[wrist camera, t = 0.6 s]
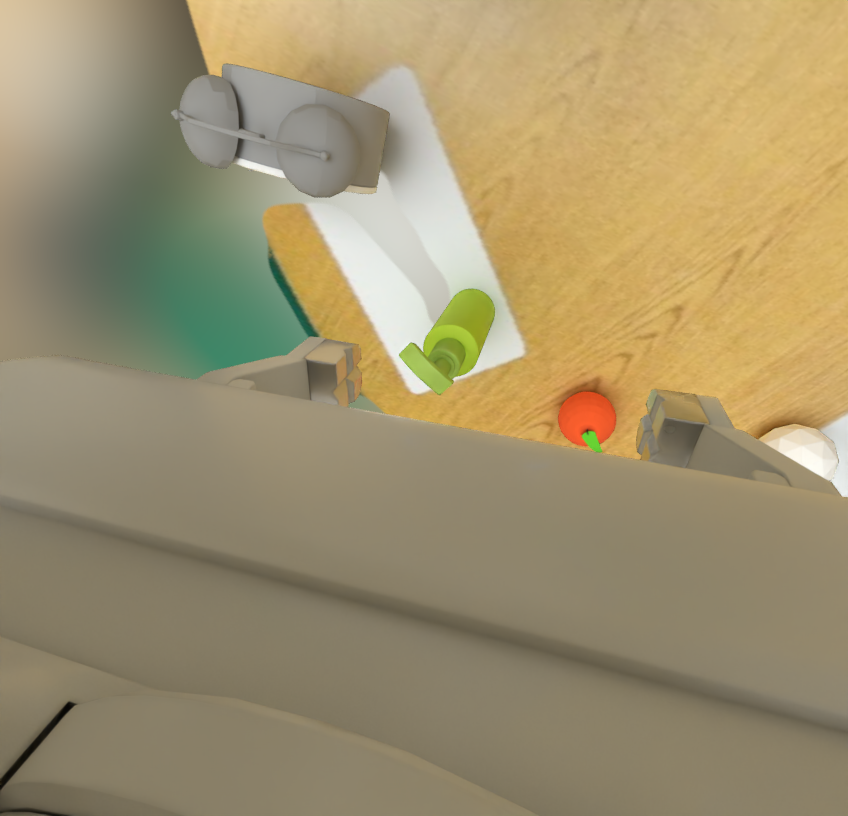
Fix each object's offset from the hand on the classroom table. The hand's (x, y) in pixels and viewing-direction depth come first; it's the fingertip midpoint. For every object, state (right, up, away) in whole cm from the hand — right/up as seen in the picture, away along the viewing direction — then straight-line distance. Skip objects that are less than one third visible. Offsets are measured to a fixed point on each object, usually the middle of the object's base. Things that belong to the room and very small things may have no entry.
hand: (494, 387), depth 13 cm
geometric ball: (+42, -4, +44) cm, 61 cm away
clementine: (+20, -1, +49) cm, 53 cm away
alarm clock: (-11, +31, +40) cm, 52 cm away
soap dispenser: (+4, +12, +46) cm, 48 cm away
